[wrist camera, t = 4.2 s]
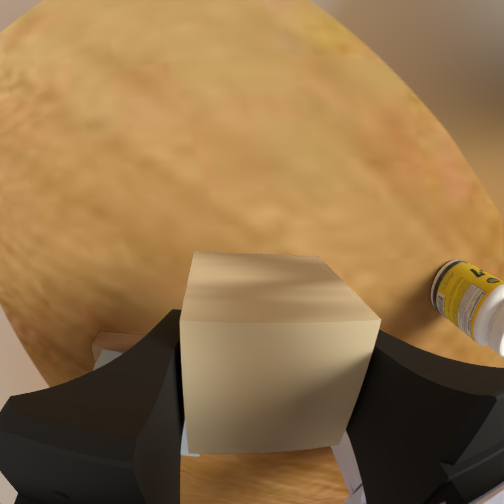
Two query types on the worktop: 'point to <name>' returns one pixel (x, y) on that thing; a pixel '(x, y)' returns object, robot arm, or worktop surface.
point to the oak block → (270, 353)
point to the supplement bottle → (471, 302)
